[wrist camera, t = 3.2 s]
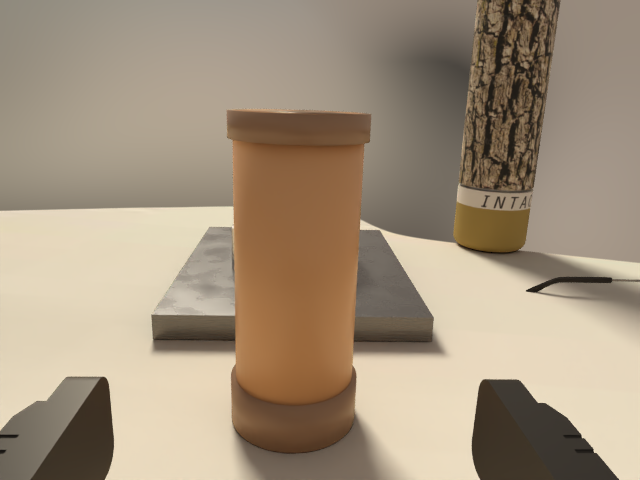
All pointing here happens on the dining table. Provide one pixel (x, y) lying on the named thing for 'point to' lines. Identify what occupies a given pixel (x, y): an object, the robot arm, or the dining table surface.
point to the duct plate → (219, 294)
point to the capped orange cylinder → (295, 273)
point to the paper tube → (504, 121)
